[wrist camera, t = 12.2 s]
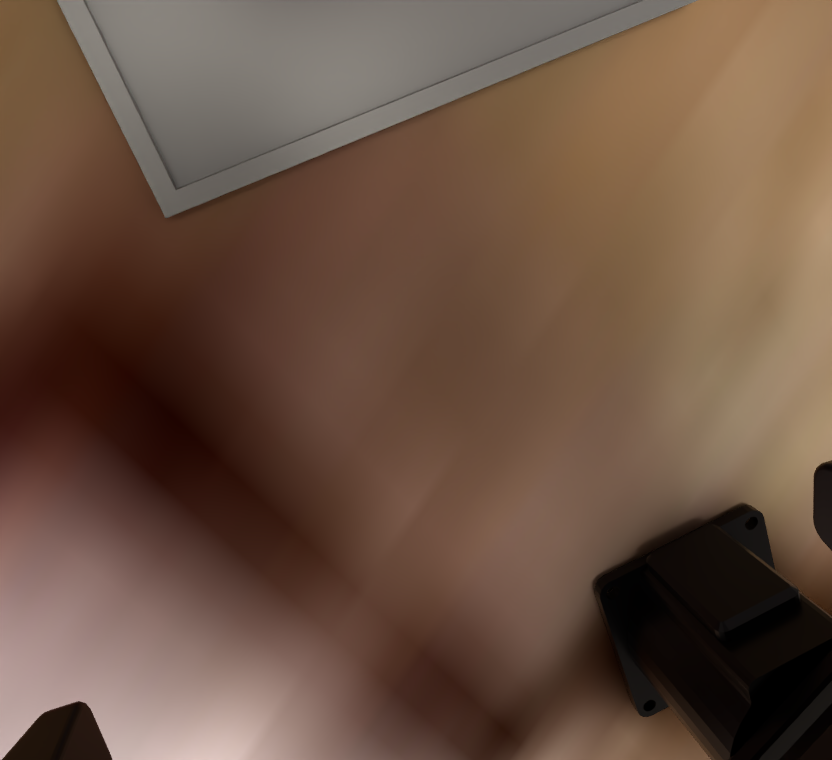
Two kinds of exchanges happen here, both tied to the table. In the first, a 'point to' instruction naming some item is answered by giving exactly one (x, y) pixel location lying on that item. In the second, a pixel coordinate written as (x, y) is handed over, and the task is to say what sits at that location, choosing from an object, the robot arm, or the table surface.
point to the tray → (306, 72)
